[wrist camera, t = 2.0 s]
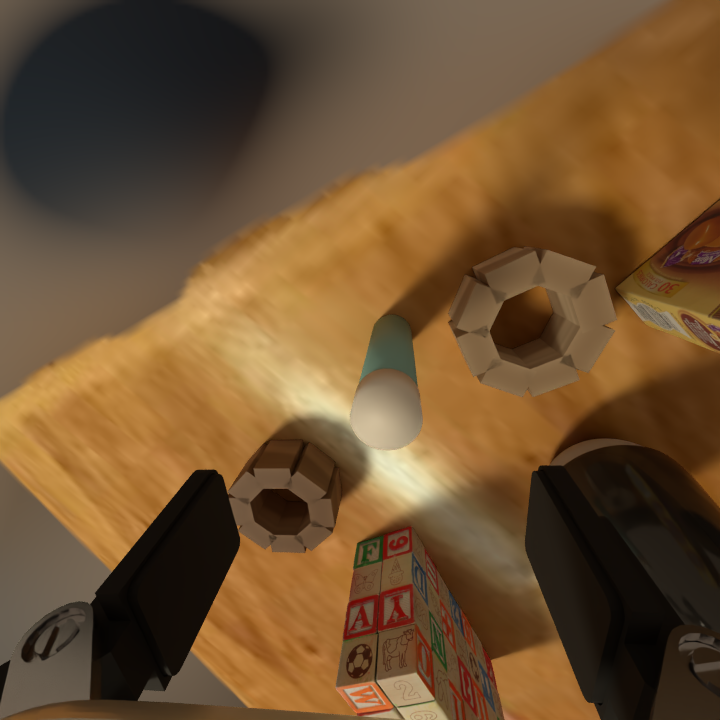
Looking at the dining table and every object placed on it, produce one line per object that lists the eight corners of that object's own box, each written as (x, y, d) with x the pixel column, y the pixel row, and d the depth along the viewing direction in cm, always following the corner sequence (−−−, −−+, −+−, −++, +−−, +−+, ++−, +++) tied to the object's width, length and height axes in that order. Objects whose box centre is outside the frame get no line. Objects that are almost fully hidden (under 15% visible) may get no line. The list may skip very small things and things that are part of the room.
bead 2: (558, 225, 23) (589, 225, 19) (595, 342, 26) (629, 361, 22) (432, 286, 25) (438, 296, 22) (477, 388, 28) (489, 413, 24)
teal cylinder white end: (411, 312, 26) (421, 385, 14) (412, 351, 27) (423, 449, 15) (370, 315, 27) (346, 387, 15) (373, 353, 28) (353, 450, 16)
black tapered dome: (594, 536, 32) (750, 783, 18) (500, 483, 31) (585, 700, 17) (687, 458, 28) (977, 691, 14) (583, 396, 27) (781, 578, 13)
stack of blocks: (492, 659, 39) (531, 835, 28) (441, 669, 41) (457, 840, 30) (411, 523, 34) (417, 675, 22) (354, 541, 35) (333, 692, 24)
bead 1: (335, 439, 31) (326, 468, 27) (345, 518, 34) (338, 553, 30) (239, 440, 32) (218, 468, 28) (257, 516, 35) (240, 550, 32)
